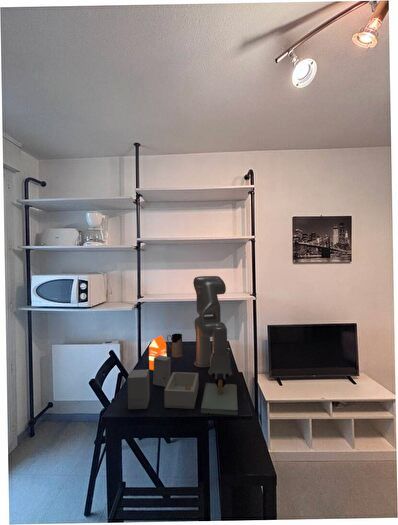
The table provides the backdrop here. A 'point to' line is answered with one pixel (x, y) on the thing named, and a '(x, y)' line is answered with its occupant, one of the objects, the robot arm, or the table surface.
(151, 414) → the table surface
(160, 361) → the skincare box
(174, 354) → the brown pitcher
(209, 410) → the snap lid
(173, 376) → the parts tub
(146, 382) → the supplement box
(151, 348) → the orange juice
